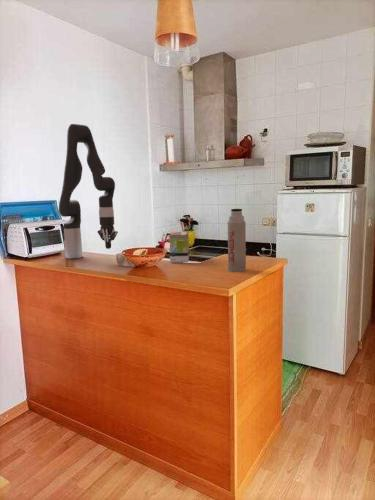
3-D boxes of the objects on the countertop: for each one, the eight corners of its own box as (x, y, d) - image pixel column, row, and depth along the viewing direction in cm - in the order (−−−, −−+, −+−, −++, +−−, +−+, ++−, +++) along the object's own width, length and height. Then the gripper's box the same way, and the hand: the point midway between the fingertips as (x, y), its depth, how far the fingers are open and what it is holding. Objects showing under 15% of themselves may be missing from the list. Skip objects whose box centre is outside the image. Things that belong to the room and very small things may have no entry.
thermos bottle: (233, 272, 166) (233, 209, 161) (225, 269, 173) (224, 208, 168) (249, 270, 169) (248, 208, 164) (239, 267, 176) (239, 208, 171)
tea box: (189, 262, 192) (188, 234, 189) (169, 263, 192) (168, 234, 190) (189, 257, 207) (188, 230, 204) (171, 257, 207) (170, 231, 204)
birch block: (116, 253, 190) (136, 254, 185) (122, 251, 195) (142, 252, 190) (116, 265, 191) (136, 266, 186) (123, 263, 196) (143, 264, 191)
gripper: (92, 216, 195) (94, 248, 198) (110, 216, 188) (112, 250, 191) (102, 214, 201) (104, 246, 204) (120, 215, 194) (122, 248, 197)
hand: (108, 248), depth 197 cm, fingers closed
